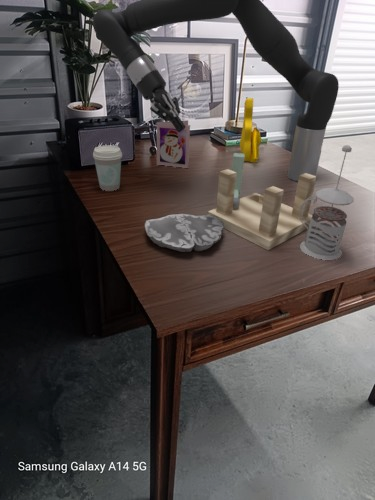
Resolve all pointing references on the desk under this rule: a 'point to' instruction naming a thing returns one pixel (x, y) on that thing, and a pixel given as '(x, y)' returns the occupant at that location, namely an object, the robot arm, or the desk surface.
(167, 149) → the greeting card
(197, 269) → the desk surface
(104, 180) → the coffee cup
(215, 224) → the brain slice
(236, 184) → the hinged leg
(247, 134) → the figure statuette
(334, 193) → the french press
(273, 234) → the stool seat
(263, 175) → the desk surface
